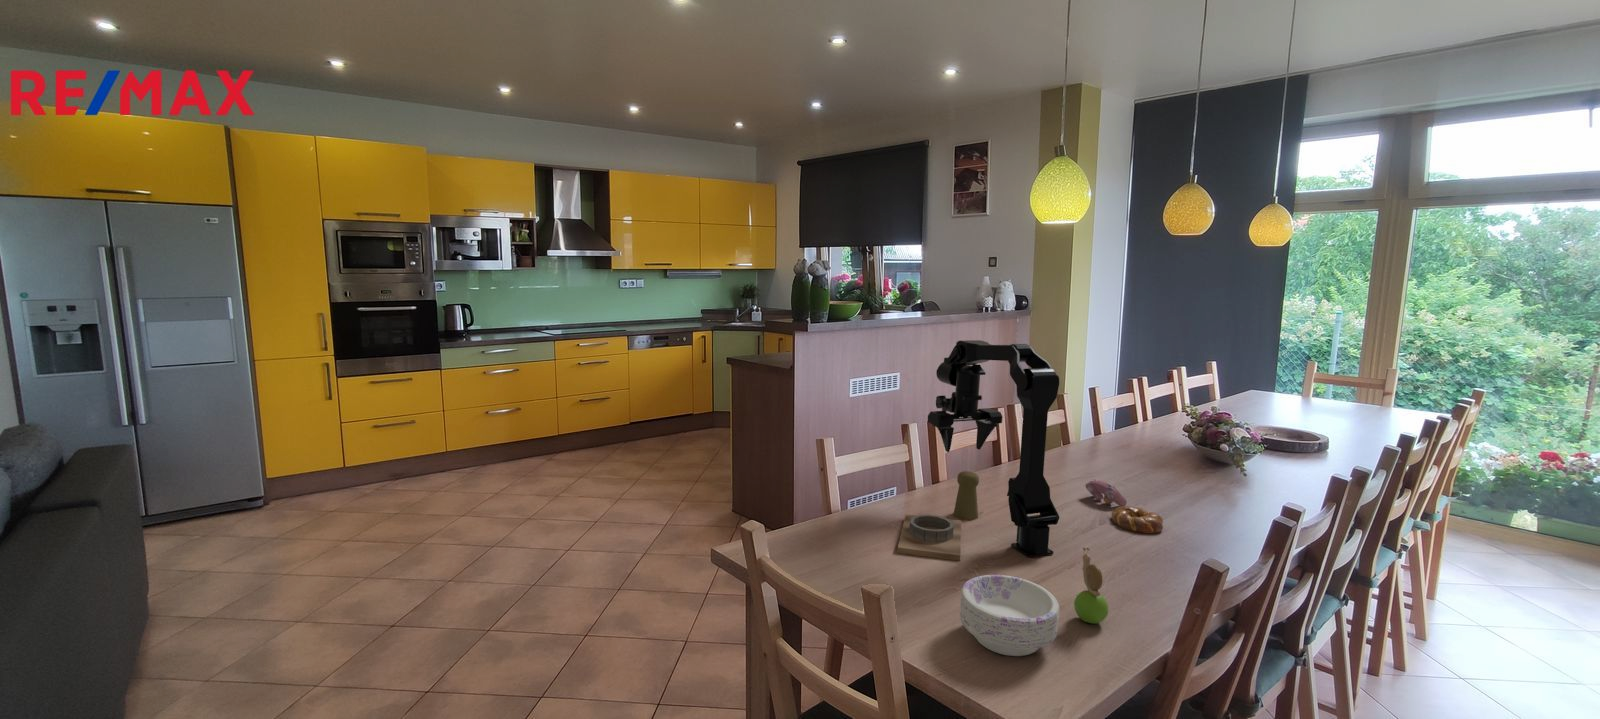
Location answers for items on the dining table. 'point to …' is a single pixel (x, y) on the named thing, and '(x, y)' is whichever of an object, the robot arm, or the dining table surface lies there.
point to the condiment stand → (931, 537)
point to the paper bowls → (1009, 614)
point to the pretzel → (1137, 519)
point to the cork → (967, 496)
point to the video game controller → (1105, 492)
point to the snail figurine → (1091, 594)
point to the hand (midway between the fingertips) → (962, 450)
